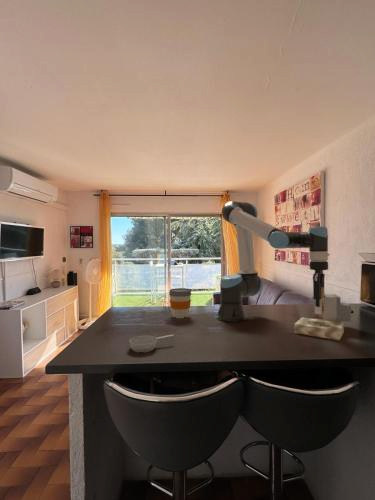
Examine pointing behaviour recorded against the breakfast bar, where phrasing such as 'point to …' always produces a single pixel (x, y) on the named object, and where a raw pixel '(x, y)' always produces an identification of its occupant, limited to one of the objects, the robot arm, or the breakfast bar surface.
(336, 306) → the circuit breaker
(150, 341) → the saucepan
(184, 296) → the reusable coffee cup
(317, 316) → the peg
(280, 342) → the breakfast bar surface
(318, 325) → the board
